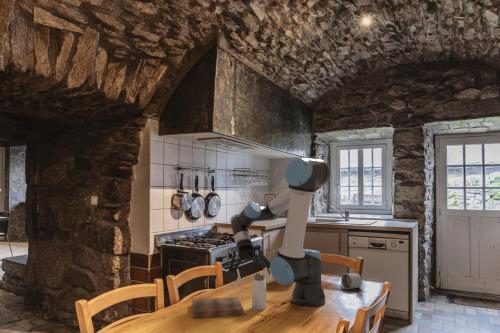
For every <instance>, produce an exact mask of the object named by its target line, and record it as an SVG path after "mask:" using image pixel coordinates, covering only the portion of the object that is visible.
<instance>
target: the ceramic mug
mask: <svg viewBox="0 0 500 333" xmlns="http://www.w3.org/2000/svg"><path fill="white" fill-rule="evenodd" d="M362 284H363V279H362V277H361V275H360V274H359V273H352V272H351V273H343V275H342V276H341V281H340V285H341V286H342V287H343V288H344V289H345V290H353V289H358V288H360V287H361V286H362Z"/></svg>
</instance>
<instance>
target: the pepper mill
mask: <svg viewBox="0 0 500 333" xmlns="http://www.w3.org/2000/svg"><path fill="white" fill-rule="evenodd" d="M251 300H252V301H251V308H252V310H254V311H264V310H266V309H267V280H266V277H265V274H263V273H261V272H257V273H255V275H254V276H253V278H252V279H251Z"/></svg>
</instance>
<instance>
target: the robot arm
mask: <svg viewBox="0 0 500 333" xmlns="http://www.w3.org/2000/svg"><path fill="white" fill-rule="evenodd" d="M331 176H332V170H331V167H330V165H329V164H328V163H327V161H325V160H323V159H319V158H317V159H316V158H307V157H297V158H293V159H292V160H290V161H289V162H288V163H287V166H286V167H285V171H284V178H285V180H286V183H288V187H287V189H285V190H284V191H283V192H281V193H280V194H279V195H278V196H276V197H275V198H274V199H273V200H271V201H269V202H268V203H267V204H265V205H259V203H257V202H254V201H251V202H249V203H248V204H247V205H246V206H244V208H243V210H242V211H241V212H240V213H236V214H234V215H232V216H231V218H230V227H231V230H232V234H233V238H234V242H235V245H236V249H237V251H236V250H233V251H232V254H231V261H230V264H229V267H228V271H229V272H232V274H233V278H235V279H236V281H237V286H239V287H240V286H241V285H242V279H241V275H240V274H241V273H240V270H239V267H240V265H241V263H242V262H243V261H244V262H247V261H251V262H255V263H256V264H257V265H259V266H260V267H261V268H263V272H264V278H265V279H266V284H270V282H271V280H272V279H271V276H272V278H273V280H274V281H275V282H276V283H278V284H280V285H283V286H285V285H292V284H293V283H295V284H294V287H293V290H292V293H291V301H292V302H293V304H296V305H298V306H302V307H303V306H304V307H319V306H323V305H325V304H326V294H325V292H324V288H323V285H322V261H323V260H322V253H321V252H320V251H319V250H315V249H307V248H303V247H304V243H305V242H304V241H305V235H306V231H307V230H306V229H307V223H308V218H309V211H310V205H311V199H312V196H313V195H315V193H316V192H317V191H318V190H320V189H321V188H323V187H324V186H326V184H328V182H329V181H330V180H331ZM286 210H287V215H286V216H287V217H286V220H285V227H284V233H283V234H284V235H283V240H282V246H280V247H279V248H277V250H278V254H277V257H275V258H274V257H273V258H272V260H269V259H268V258H267V257H266V256H265V255H264V254H263V252H262V250H261V249H260V248H259V249H257V250H255V249H254V245H253V242H252V239H251V235H250V232H249V228H250V227H251V226H252V224H253V223H256V222H266V221H267V222H268V221H269V222H271V221H274V220H278V218H279V216H280V215H281V214H282V213H283V212H284V211H286ZM237 256H238V257H239V259H238V261H237V262H236V264H235V265H234V263H235V260H236V257H237ZM270 275H271V276H270Z"/></svg>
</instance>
